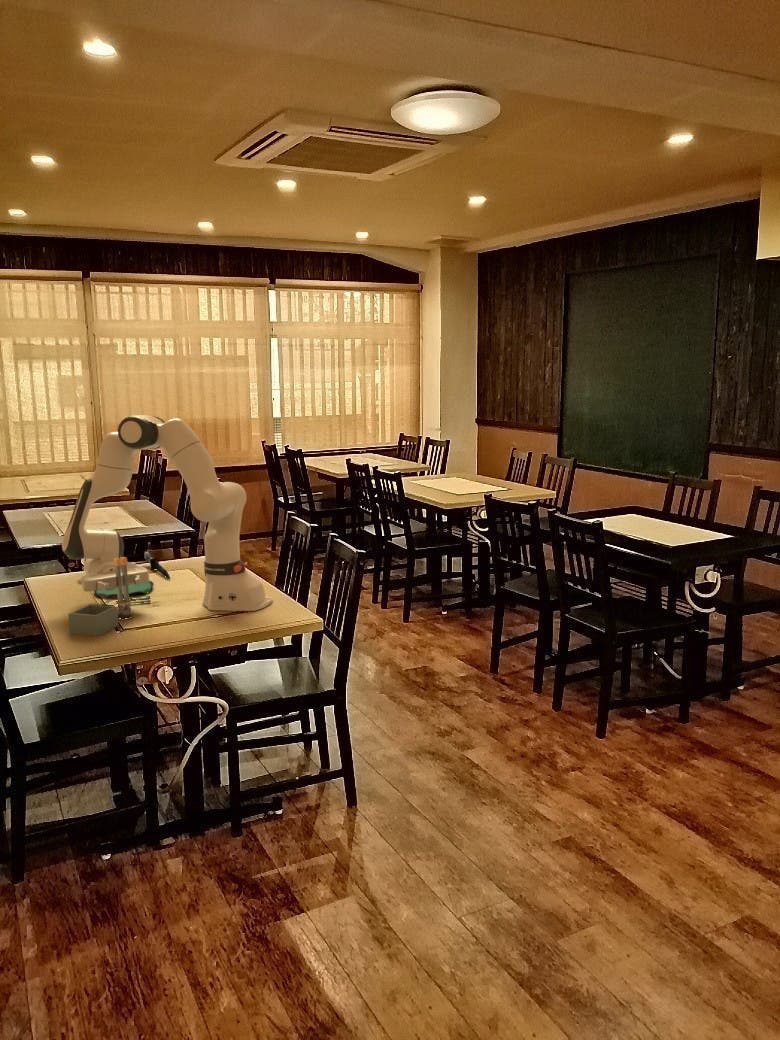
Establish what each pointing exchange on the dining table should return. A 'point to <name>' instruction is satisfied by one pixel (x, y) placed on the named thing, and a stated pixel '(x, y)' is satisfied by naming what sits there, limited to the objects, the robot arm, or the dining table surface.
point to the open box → (93, 620)
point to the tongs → (123, 611)
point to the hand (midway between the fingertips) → (122, 584)
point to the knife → (155, 564)
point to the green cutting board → (133, 590)
